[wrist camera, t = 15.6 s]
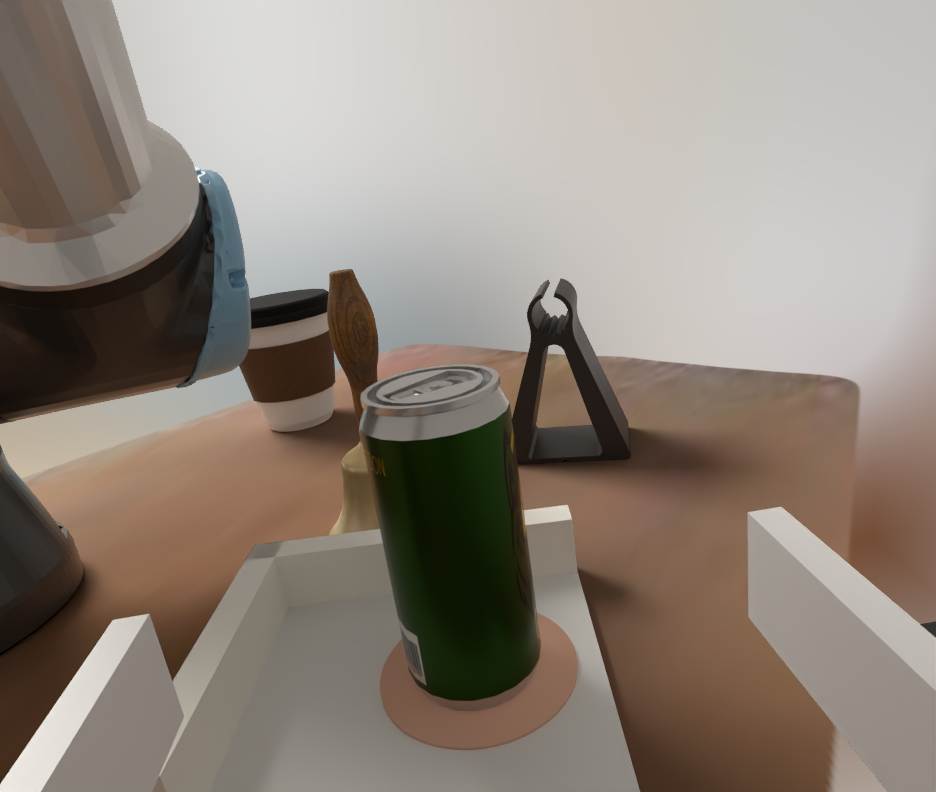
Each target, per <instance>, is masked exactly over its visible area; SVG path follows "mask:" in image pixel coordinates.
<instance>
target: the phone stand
mask: <svg viewBox="0 0 936 792" xmlns="http://www.w3.org/2000/svg"><path fill="white" fill-rule="evenodd" d="M549 284H550V283H549V280H547V281H545V282H544V283H543V284H542V285H541V286H540V288H539V289H538V291H537V293H536V295H535V296H534V298H533V300H532V302H531V303H530V305H529V308H528V312H527V318H528V322H529V326H530V330H531V343H530V348H529V352H528V357H527V361H526V365H525V369H524V373H523V377H522V381H521V385H520V389H519V393H518V397H517V402H516V406H515V410H514V414H513V418H512V425H513V432H514V440H515V448H516V455H517V463H518V464H538V463H559V462H563V461H564V460H567V461H568V462H580V461H601V460H621V459H628V458H629V457H630V455H631V454H630V441H629V428H628V421H627V419H626V417H625V415H624V413H623V411H622V408H621V406H620V404H619V402H618V400H617V398H616V396H615V394H614V392H613V390H612V388H611V386H610V384H609V382H608V379H607V377H606V375H605V373H604V371H603V369H602V367H601V365H600V363H599V361H598V359H597V357H596V355H595V352H594V351H593V348H592V346H591V344H590V342H589V340H588V338H587V336H586V334H585V332H584V330H583V328H582V326H581V323H580V321H579V319H578V315H577V308H576V307H577V306H576V305H577V294H576V291H575V289H574V287H573V286H572V284H571V283H569V282H568V281H566V280H564V279H560V282H559V284H558V286H557V289H556V291H555V294H554V297H556V298H558V299H560V300H561V301H563V302H564V304H565V305H566V307H567V309H568V311H567V314H566V316H564V315H561V316H560V317H559V319H558V318H557V317H556V316H555V315H554V316H553V317H551V318H550V315H549V313H547V314H546V311H545V310H544V309H543V307H542V305H541V302H540V299H542V298H543V296H544V294H545V292H546V290H547V288H548V286H549ZM553 344H555V345H559V346H561V347H562V348H563V349H564V351H565V354H566V356H567V359H568V361H569V364H570V367H571V369H572V372H573V375H574V377H575V380H576V382H577V385H578V388H579V390H580V393H581V395H582V398H583V401H584V403H585V406H586V409H587V411H588V414H589V416H590V419H591V422H592V424H593V425H585V426H569V427H552V428H538V427H537V426H536V421H537V415H538V408H539V402H540V396H541V389H542V383H543V377H544V370H545V364H546V358H547V351H548V346H549V345H553Z"/></svg>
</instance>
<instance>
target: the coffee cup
mask: <svg viewBox="0 0 936 792" xmlns="http://www.w3.org/2000/svg"><path fill="white" fill-rule="evenodd" d="M328 295H329V292H328V291H326V290H324V289H307V290H296V291H289V292H283V293H276V294H270V295H265V296H260V297H256V298H251V299H250V309H251V339H250V345H249V350H248V353H247V355H246V357H245V359H244V360H243V362H242V363H241V364H240V365H239V366H240V369H241V371H242V373H243V376H244V378H245V380H246V383H247V385H248V387H249V389H250V392H251V394H252V397H253V399H254V401H257V403H258V406H259V408H260V410H261V413H262V415H263V417H264V420H265V422H266V424H267V425H268V426H269V427H270V428H271V429H272V430H274V431H277V432H290V431H298V430H303V429H307V428H311V427H314V426H316V425H319V424H321V423H324V422H325V421H327V420H328V419H330V418H331V416H332V414H333V410H334V407H335V403H334V383H335V367H334V348H333V345H332V341H331V338H330V333H329V328H328V321H327V304H328Z"/></svg>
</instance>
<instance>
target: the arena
mask: <svg viewBox="0 0 936 792" xmlns="http://www.w3.org/2000/svg"><path fill="white" fill-rule="evenodd" d="M524 517H525V525H526V532H527V540H528V548H529V555H530V563H531V571H532V578H533V586H534V594H535V601H536V609H537V617H538V624H539V632H540V640H541V649H540V658H539V661H538V664H537V666H536V669H535V672H534V674H533V676H532V677H531V679H530V681H529V683H528V684H527V686H526V687H525V688H524V689H523V690H522V691H521V692H520V693H518V694H517V695H516V696H515V697H514V698H513V699H510V700H508V701H506V702H504V703H502V704H500V705H498V706H496V707H492V708H488V709H483V710H478V711H456V710H453V709H450V708H446V707H443V706H440V705H438V704H437V703H435V702H434V701H433V700H431V699H430V698H428V697H427V696H426V695H425V694H424V692H423V691H422V690H421V689H420V688H419V687H418V686H417V684H416V683H415V681H414V679H413V678H412V676H411V674H410V672H409V669H408V664H407V659H406V654H405V649H404V644H403V639H402V635H401V630H400V625H399V620H398V615H397V610H396V605H395V600H394V596H393V591H392V586H391V581H390V576H389V571H388V566H387V561H386V557H385V552H384V547H383V542H382V537H381V532H380V529H375V530H367V531H359V532H352V533H344V534H336V535H328V536H320V537H312V538H304V539H297V540H289V541H281V542H273V543H265V544H257V545H254V547H253V548H252V550H251V552H250V553H249V555H248V557H247V558H246V560H245V562H244V563H243V565H242V567H241V568H240V570H239V572H238V573H237V575H236V577H235V578H234V580H233V582H232V583H231V585H230V587H229V588H228V590H227V592H226V593H225V595H224V597H223V598H222V600H221V602H220V603H219V605H218V607H217V608H216V610H215V612H214V613H213V615H212V617H211V618H210V620H209V622H208V623H207V625H206V626H205V628H204V630H203V631H202V633H201V635H200V636H199V638H198V640H197V641H196V643H195V645H194V646H193V648H192V650H191V651H190V653H189V655H188V656H187V658H186V660H185V661H184V663H183V665H182V666H181V668H180V670H179V671H178V673H177V675H176V676H175V678H174V680H173V681H172V682H173V685H174V688H175V690H176V693H177V696H178V699H179V702H180V705H181V708H182V711H183V714H184V718H183V721H182V723H181V725H180V728H179V730H178V732H177V735H176V737H175V740H174V742H173V744H172V747H171V749H170V751H169V754H168V756H167V758H166V761H165V763H164V765H163V768H162V770H161V772H160V775H159V777H158V780H157V782H156V784H155V787H154V789H153V791H152V792H640V789H639V786H638V782H637V779H636V775H635V772H634V768H633V765H632V761H631V758H630V754H629V751H628V747H627V744H626V740H625V737H624V733H623V730H622V726H621V723H620V719H619V716H618V712H617V709H616V705H615V702H614V698H613V695H612V691H611V688H610V684H609V681H608V677H607V673H606V670H605V666H604V663H603V659H602V656H601V652H600V649H599V645H598V642H597V638H596V635H595V631H594V628H593V624H592V621H591V617H590V614H589V610H588V607H587V603H586V600H585V596H584V593H583V589H582V586H581V582H580V579H579V575H578V571H577V562H576V552H575V543H574V533H573V524H572V518H571V514H570V511H569V508H568V505H563V506H555V507H547V508H540V509H532V510H524Z"/></svg>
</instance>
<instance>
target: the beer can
mask: <svg viewBox="0 0 936 792" xmlns="http://www.w3.org/2000/svg"><path fill="white" fill-rule="evenodd" d="M499 385H500V376H499V374H498V373H497V371H496V370H494V369H491V368H489V367H486V366H478V365H445V366H434V367H428V368H423V369H417V370H412V371H408V372H404V373H401V374H397V375H394V376H391V377H388V378H386V379H383V380H380V381H378V382H376V383H374V384H373V385H371V386H369V387H367V388H366V389H365V390H364V391H363V392H362V393H361V399H360V400H361V405H362V408H364V409H363V412H362V416H361V419H360V427H359V430H360V434H361V439H362V444H363V449H364V454H365V459H366V464H367V469H368V474H369V478H370V483H371V488H372V493H373V498H374V503H375V508H376V513H377V517H378V522H379V527H380V532H381V537H382V542H383V547H384V552H385V557H386V561H387V566H388V571H389V576H390V581H391V586H392V591H393V596H394V600H395V605H396V610H397V615H398V620H399V625H400V630H401V635H402V639H403V644H404V649H405V654H406V659H407V664H408V669H409V672H410V674H411V676H412V678H413V679H414V681H415V683H416V684H417V686H418V687H419V688H420V689H421V690H422V691H423V692H424V694H425V695H426V696H427V697H428V698H430V699H431V700H433V701H434V702H435V703H437V704H438V705H440V706H443V707H446V708H450V709H453V710H456V711H478V710H483V709H488V708H492V707H496V706H498V705H500V704H502V703H504V702H506V701H508V700H510V699H513V698H514V697H515V696H516V695H517V694H518V693H520V692H521V691H522V690H523V689H524V688H525V687H526V686H527V684H528V683H529V681H530V679H531V677H532V676H533V674H534V672H535V669H536V666H537V664H538V661H539V658H540V649H541V640H540V632H539V624H538V617H537V609H536V601H535V594H534V586H533V578H532V571H531V563H530V555H529V548H528V540H527V532H526V525H525V517H524V509H523V501H522V494H521V486H520V478H519V471H518V463H517V455H516V448H515V440H514V432H513V425H512V417H511V409H510V402H509V400H508V399H507V397H506V396H505V394H504V393H503V391H502V390H501V389H500V387H499Z"/></svg>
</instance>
